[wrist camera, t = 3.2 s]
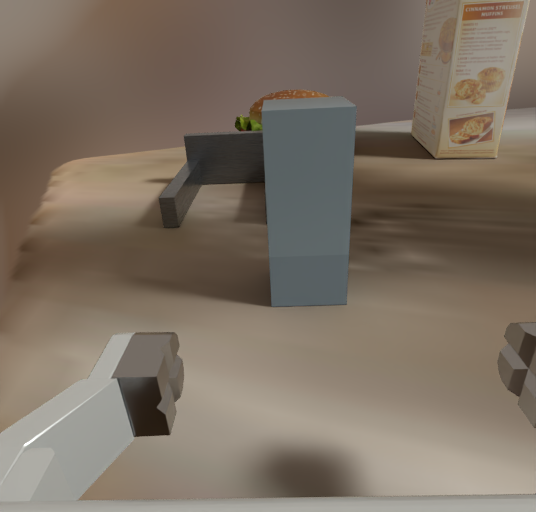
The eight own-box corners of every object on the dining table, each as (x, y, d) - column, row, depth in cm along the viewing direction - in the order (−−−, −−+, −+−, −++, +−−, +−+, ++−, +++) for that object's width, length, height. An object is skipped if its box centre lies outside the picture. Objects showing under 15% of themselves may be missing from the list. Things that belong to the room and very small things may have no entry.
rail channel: (279, 177, 43) (278, 129, 41) (281, 223, 32) (279, 160, 29) (192, 181, 43) (186, 133, 41) (164, 227, 32) (152, 165, 30)
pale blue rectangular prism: (336, 268, 25) (342, 96, 20) (346, 304, 21) (356, 106, 17) (271, 270, 25) (263, 100, 21) (271, 306, 22) (261, 110, 17)
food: (323, 141, 59) (324, 82, 56) (366, 163, 47) (371, 90, 43) (231, 150, 57) (226, 89, 53) (252, 176, 44) (246, 99, 41)
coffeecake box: (498, 159, 46) (544, -54, 37) (433, 160, 47) (462, -47, 38) (459, 133, 59) (486, -27, 50) (409, 135, 60) (427, -23, 51)
